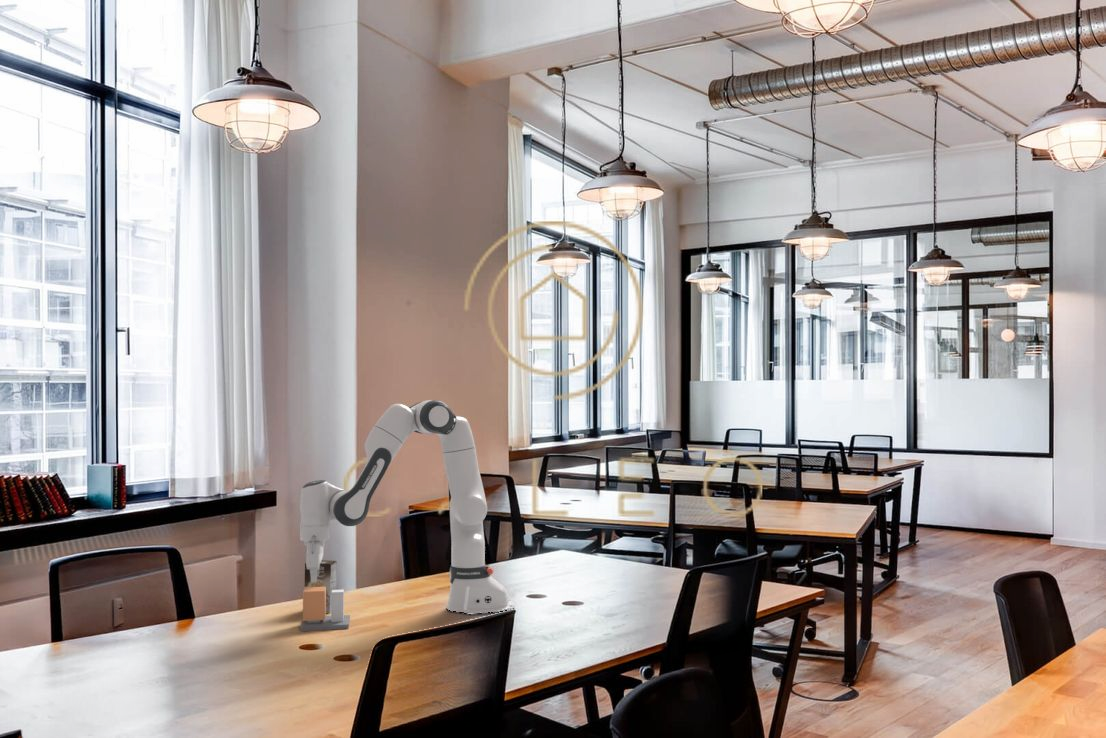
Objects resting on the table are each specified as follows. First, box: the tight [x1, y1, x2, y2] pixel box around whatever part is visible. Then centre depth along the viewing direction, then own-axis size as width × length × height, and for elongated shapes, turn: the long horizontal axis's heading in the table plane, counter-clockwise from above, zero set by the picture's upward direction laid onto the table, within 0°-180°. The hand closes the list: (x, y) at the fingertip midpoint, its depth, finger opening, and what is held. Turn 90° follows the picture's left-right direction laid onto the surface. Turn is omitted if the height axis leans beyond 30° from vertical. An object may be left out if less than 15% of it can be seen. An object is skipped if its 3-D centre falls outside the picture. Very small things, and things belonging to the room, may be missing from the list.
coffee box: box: [304, 559, 338, 614], centre depth 294 cm, size 9×6×16 cm
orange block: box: [302, 586, 327, 622], centre depth 276 cm, size 6×6×9 cm
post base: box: [300, 588, 351, 632], centre depth 276 cm, size 14×12×10 cm
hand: (315, 578), depth 276 cm, fingers open, 8 cm apart
